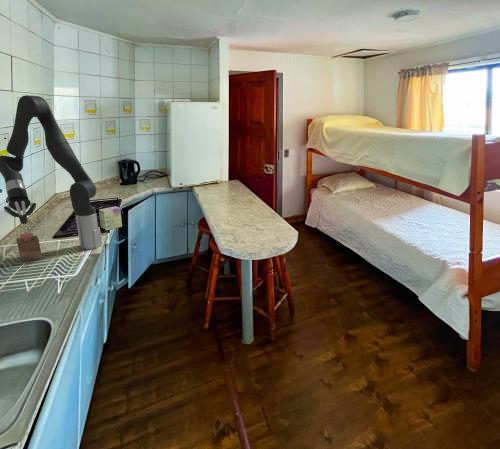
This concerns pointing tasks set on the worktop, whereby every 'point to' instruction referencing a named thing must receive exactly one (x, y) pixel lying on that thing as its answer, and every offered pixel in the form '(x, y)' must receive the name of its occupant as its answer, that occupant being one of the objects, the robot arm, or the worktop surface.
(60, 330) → the worktop surface
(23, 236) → the red mushroom
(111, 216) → the box
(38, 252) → the housing
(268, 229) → the worktop surface
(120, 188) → the worktop surface
